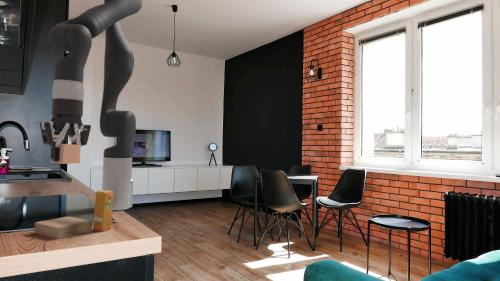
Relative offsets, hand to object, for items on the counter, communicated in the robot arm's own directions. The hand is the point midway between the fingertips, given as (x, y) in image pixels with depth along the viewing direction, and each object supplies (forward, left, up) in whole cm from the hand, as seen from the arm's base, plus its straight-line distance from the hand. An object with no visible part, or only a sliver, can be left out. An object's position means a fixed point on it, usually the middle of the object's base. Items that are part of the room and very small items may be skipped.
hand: (65, 160), depth 95 cm
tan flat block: (+5, +8, -17) cm, 20 cm away
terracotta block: (0, 0, 0) cm, 0 cm away
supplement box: (-2, +13, -17) cm, 22 cm away
